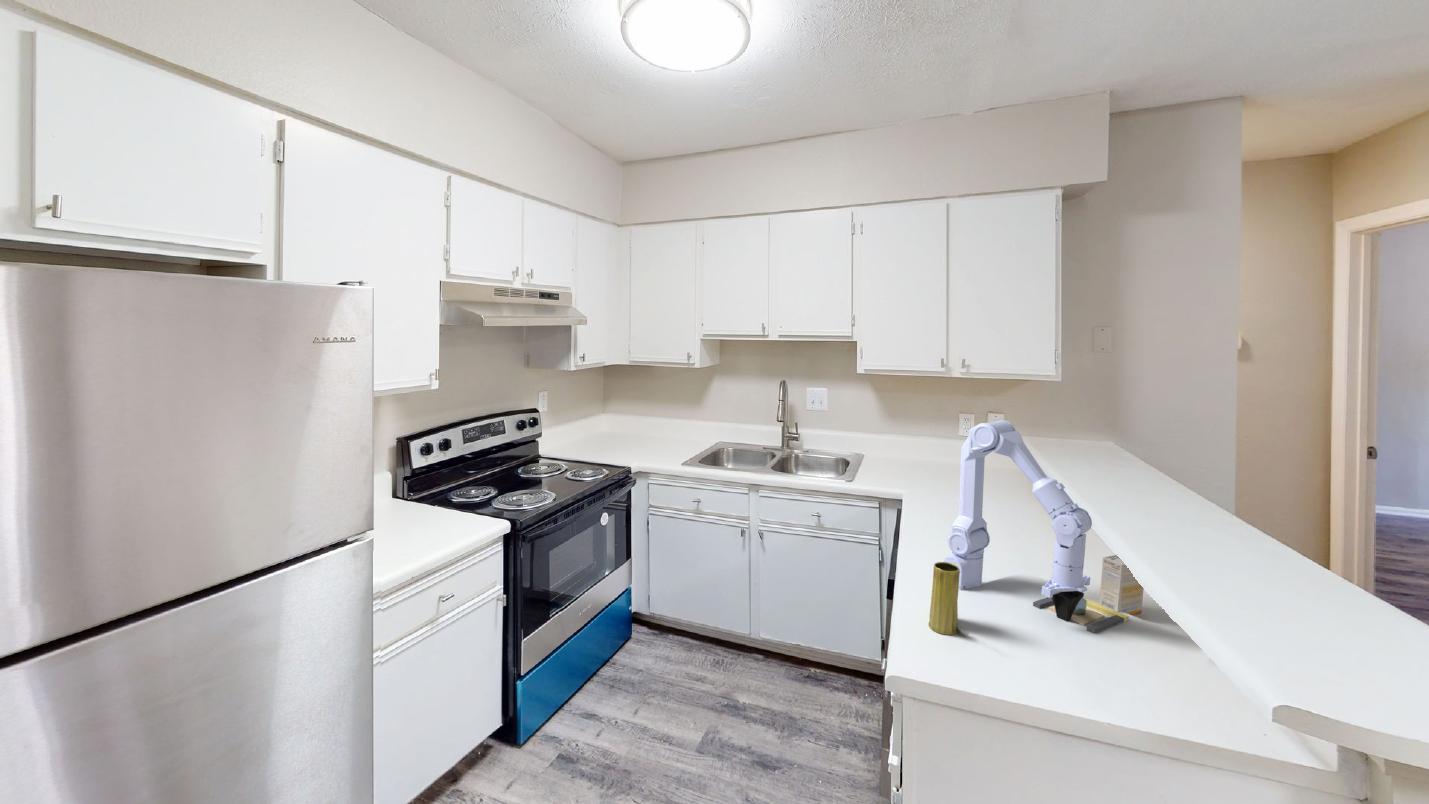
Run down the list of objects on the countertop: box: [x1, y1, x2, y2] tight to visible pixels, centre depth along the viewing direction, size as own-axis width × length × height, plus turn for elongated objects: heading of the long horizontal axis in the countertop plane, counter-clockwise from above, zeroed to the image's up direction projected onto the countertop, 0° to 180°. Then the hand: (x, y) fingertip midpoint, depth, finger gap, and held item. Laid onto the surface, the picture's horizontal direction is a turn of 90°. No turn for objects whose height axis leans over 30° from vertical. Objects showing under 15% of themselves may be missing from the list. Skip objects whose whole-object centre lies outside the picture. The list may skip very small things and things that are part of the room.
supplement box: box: [1098, 554, 1145, 616], centre depth 132 cm, size 8×5×13 cm, turn 109°
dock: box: [1032, 597, 1129, 634], centre depth 129 cm, size 13×14×2 cm
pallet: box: [1047, 605, 1106, 626], centre depth 129 cm, size 8×8×2 cm
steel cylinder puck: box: [1073, 597, 1087, 616], centre depth 129 cm, size 4×4×3 cm
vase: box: [928, 561, 960, 636], centre depth 124 cm, size 6×6×14 cm
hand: (1063, 620), depth 127 cm, fingers closed
